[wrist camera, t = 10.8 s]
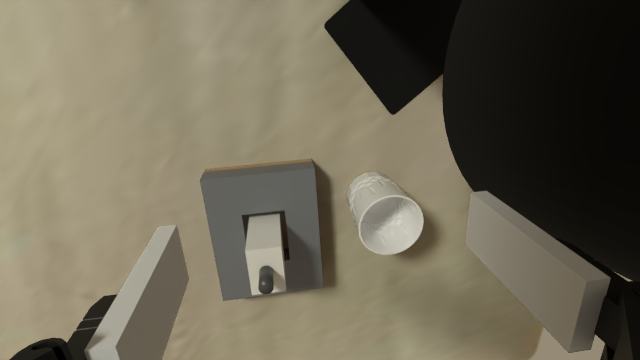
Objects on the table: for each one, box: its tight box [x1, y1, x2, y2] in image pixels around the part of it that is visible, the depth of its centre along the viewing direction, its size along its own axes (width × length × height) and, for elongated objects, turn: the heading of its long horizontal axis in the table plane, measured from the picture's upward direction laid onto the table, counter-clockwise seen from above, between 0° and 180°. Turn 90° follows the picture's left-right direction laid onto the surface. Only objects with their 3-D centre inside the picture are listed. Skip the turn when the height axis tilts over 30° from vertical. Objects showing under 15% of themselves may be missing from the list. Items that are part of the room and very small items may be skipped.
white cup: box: [347, 172, 424, 255], centre depth 48 cm, size 8×8×10 cm
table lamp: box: [325, 0, 640, 282], centre depth 28 cm, size 26×28×40 cm
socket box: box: [200, 159, 323, 301], centre depth 50 cm, size 18×14×4 cm
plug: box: [245, 211, 286, 295], centre depth 45 cm, size 6×4×13 cm, turn 4°
